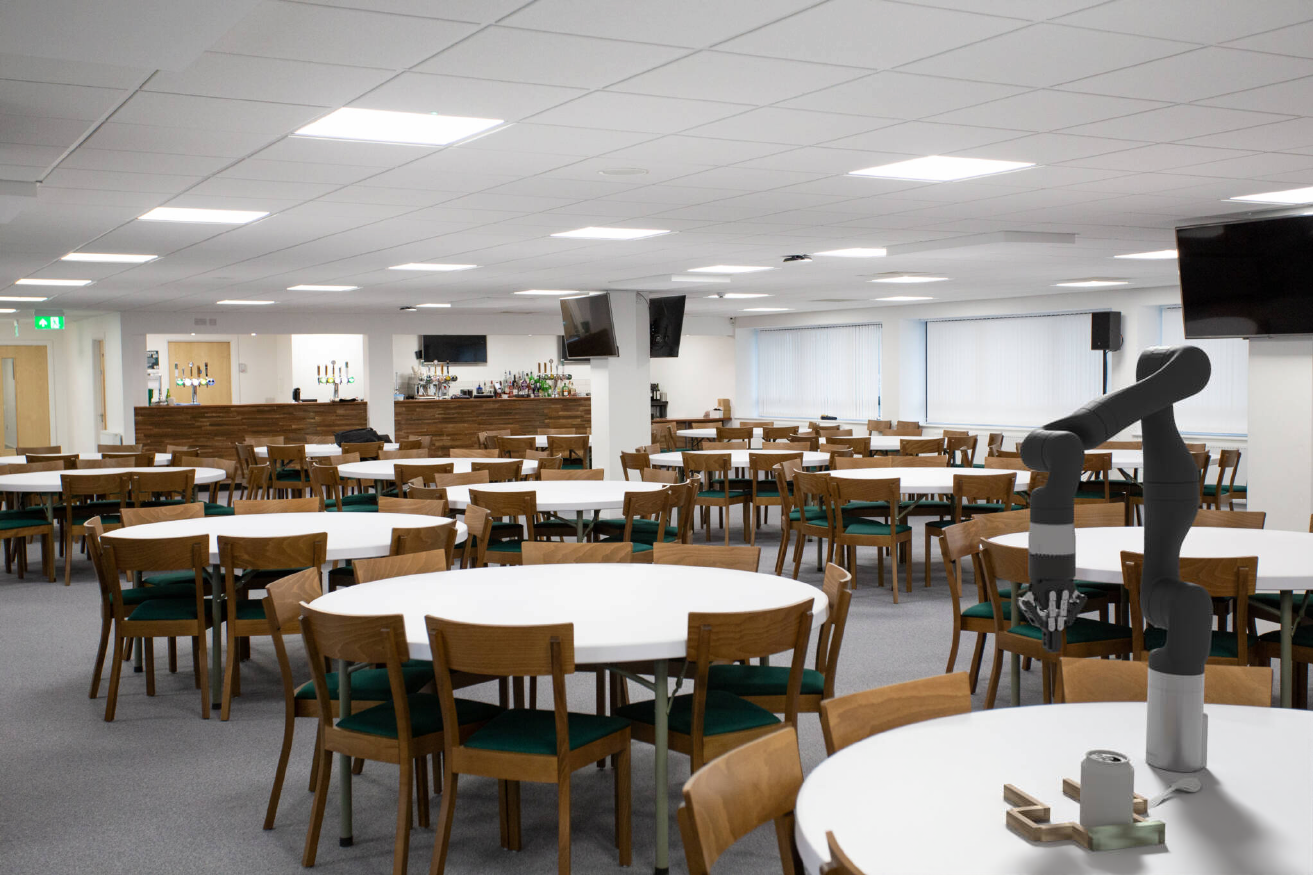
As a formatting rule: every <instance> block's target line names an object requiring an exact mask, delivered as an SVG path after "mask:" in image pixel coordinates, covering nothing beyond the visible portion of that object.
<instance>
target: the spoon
mask: <svg viewBox="0 0 1313 875" xmlns="http://www.w3.org/2000/svg"><path fill="white" fill-rule="evenodd" d="M1201 786H1202V784H1201V782H1200V780H1199V779H1198V778H1196V777H1188V778H1187V777H1186V778H1183V779H1180V780H1177V781H1176V782H1172V783H1171V784H1170V788H1168V789H1166V790H1165V791H1163V792H1162V793H1160V794H1159V795H1157V796H1154V797H1152V798H1151V799H1148V810H1149V809H1153V808H1154V809H1155V807H1157V806H1158V805H1159V804H1160V803H1161V802H1163V800H1164V799H1165V798H1166V797H1167V796H1168V795H1170V794H1171V793H1172V792H1174V791H1175V790H1178V791H1180V792H1185V793H1195V792H1198V791H1199V790H1200V788H1201Z"/></svg>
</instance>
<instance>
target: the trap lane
mask: <svg viewBox="0 0 1313 875" xmlns="http://www.w3.org/2000/svg"><path fill="white" fill-rule="evenodd" d="M1061 790H1062V792H1064V793H1066V794H1068V795H1069V796H1072V797H1073V798H1075V799H1077V800H1079V801H1080V782H1077V781H1075V780H1073V779H1071V778H1069V777H1068V778H1062V789H1061ZM1003 797H1004V798H1006V799H1007V800H1009V801H1011V802H1012V803H1014V805H1015V804H1016V805H1017V806H1018V807H1011V808H1010V809H1007V810H1006V814H1005V815H1006V816H1005V820H1006V821H1005V824H1006V825H1008V826H1010V827H1011V828H1013V829H1014V830H1016V831H1018V832H1019V833H1021V835H1024V836H1025V837H1026V838H1028V839H1029V840H1031V841H1033V842H1036V841H1041V842H1042V843H1046V842H1055V841H1063V840H1064V841H1066V840H1073V841H1075V842H1077V843H1078V844H1080V845H1082V846H1083V847H1085V848H1087V849H1089V850H1090V851H1091V852H1100V851H1108V850H1117V849H1118V850H1119V849H1127V848H1134V847H1135V848H1136V847H1144V846H1152V845H1161V844H1165V843H1166V822H1164V821H1162V820H1159V819H1158V820H1151V821H1150V820H1148V819H1146V818H1144V817H1142V816H1140V815H1144V814H1145V813H1147V812H1148V810H1149V809H1148V801H1149V799H1148V798H1146V797H1144V796H1142V795H1140V794H1139V793H1136V792H1134V802H1133V823H1130V824H1120V825H1111V826H1102V827H1092V828H1088V830H1087V829H1086V828H1084V827H1082V826H1081V825H1080V823H1077V822H1076V821H1070V822H1060V823H1050V821H1051V806H1049V805H1047V804H1045V803H1043V802H1042V801H1040V800H1039V799H1037V798H1035V797H1033V796H1032V795H1030V794H1029V793H1026V792H1025V791H1023V790H1022V789H1020V788H1018V787H1017V786H1015V785H1013V784H1012V783H1003Z"/></svg>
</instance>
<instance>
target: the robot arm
mask: <svg viewBox="0 0 1313 875" xmlns="http://www.w3.org/2000/svg"><path fill="white" fill-rule="evenodd" d="M1211 375H1212V364H1211V360H1210V358H1209V356H1208V354H1207V353H1206V352H1205V350H1203V349H1202V348H1200V347H1199V346H1195V345H1189V344H1188V345H1186V344H1179V345H1178V344H1177V345H1175V344H1173V345H1172V344H1171V345H1157V346H1150V347H1148V348H1146V349H1144V350H1143V351H1142V352H1141V354H1140V355H1139V357H1138V360H1137V361H1136V369H1135V383H1132V384H1128V385H1127V386H1123V387H1121V388H1118V389H1115V390H1112V391H1109V392H1107V393H1105V394H1103V395H1099V396H1098V397H1096V398H1094V399H1093V400H1091V401H1089V402H1088V403H1086V404H1085V405H1083V406H1081V407H1080V408H1078V409H1076V411H1074V412H1072V413H1071V414H1069V415H1067V416H1064V417H1062V418H1061V417H1060V418H1059V419H1055V420H1054V421H1053V420H1052V421H1050V422H1048V423H1046V424H1043V425H1041V426H1039V427H1038V428H1036V429H1035V428H1034V430H1032V431H1031V432H1030V433H1028V434H1027V435H1026V437H1024V439H1023V440H1022V443H1021V445H1020V448H1019V454H1020V455H1019V457H1020V459H1021V462H1022V464H1024V466H1025V467H1026V468H1028V469H1030V470H1032V471H1035V472H1039V473H1040V472H1041V473H1048V477H1047V479H1046V482H1045V484H1044V486H1039V487H1035V488H1034V489H1033V490H1032V491H1031V492H1030V497H1029V529H1028V537H1027V538H1028V544H1027V545H1028V547H1027V548H1028V549H1027V552H1028V554H1027V555H1028V556H1027V557H1028V559H1027V560H1028V561H1027V562H1028V565H1027V566H1028V568H1027V569H1028V571H1027V573H1028V577H1029V584H1028V587H1027V592H1026V593H1025V595H1023V596H1022V597H1017V598H1016V600H1015V603H1016V605H1017V606H1018V608H1020V610H1021V612H1022V613H1023V615H1024V616H1025V617H1026V619H1027V620H1028V621H1029V623H1030V624H1031V625H1032V626H1035V627H1038V628H1040V629H1041V642H1042V643H1041V646H1042V648H1043V649H1044V651H1045V652H1048V653H1050V654H1053V653H1059V652H1060V650H1061V648H1062V646H1063V643H1062V641H1063V640H1062V639H1063V637H1062V636H1063V634H1062V633H1063V632H1062V631H1063V629H1064V628H1066V627H1067V626H1070V627H1071V626H1072V625H1073V623H1074V622H1075V620H1076V619H1077V618H1078V616H1079V614H1080V613H1081V611H1082V610H1083V608H1084V606H1085V604H1086V603H1087V602H1088V596H1087V595H1085V594H1081V593H1080V592H1079V591H1078V590H1077V586H1076V584H1075V581H1074V578H1076V575H1077V572H1076V569H1077V568H1076V564H1077V563H1076V561H1077V560H1076V559H1077V556H1076V555H1077V551H1076V550H1077V546H1076V545H1077V540H1076V539H1077V537H1076V530H1075V497H1076V494H1077V491H1078V489H1079V488H1078V487H1079V483H1080V480H1081V477H1082V473H1083V470H1084V465H1085V461H1086V460H1085V459H1086V455H1085V454H1086V452H1085V451H1090V450H1094V449H1096V448H1097V447H1100V446H1102V445H1104V443H1106V442H1107V441H1109V440H1110V439H1112V438H1114V437H1115V436H1116V435H1118V434H1119V433H1121V432H1122V431H1124V430H1125V429H1127V428H1128V427H1130V426H1131V425H1134V424H1135V423H1137V422H1139V421H1140V425H1141V426H1140V427H1141V428H1140V429H1141V445H1142V500H1143V501H1142V502H1143V525H1144V526H1143V558H1142V567H1141V568H1142V570H1141V578H1140V579H1141V580H1140V593H1139V594H1140V595H1139V603H1140V604H1139V605H1140V609H1141V610H1140V611H1141V613H1142V616H1143V618H1144V619H1145V620H1146V621H1147V623H1149V624H1150V625H1152V626H1153V627H1156V628H1159V629H1162V630H1166V631H1167V633H1166V639H1165V640H1166V641H1165V645H1164V646H1163V647H1160V648H1159V647H1158V648H1155V649H1152V650H1150V651H1149V653H1148V658H1147V659H1148V660H1147V664H1148V665H1147V666H1148V667H1147V699H1146V733H1145V734H1146V735H1145V736H1146V738H1145V739H1146V740H1145V761H1146V762H1147V763H1148V764H1149V765H1151V766H1153V767H1156V768H1158V769H1162V770H1166V771H1172V772H1183V773H1187V772H1188V773H1189V772H1196V771H1199V770H1202V768H1206V767H1208V765H1207V764H1208V740H1209V739H1208V736H1209V735H1208V732H1209V731H1208V730H1209V715H1208V714H1207V713H1206V712H1205V711H1204V710H1205V707H1204V704H1205V701H1204V700H1205V675H1206V674H1205V669H1206V668H1205V667H1206V663H1207V661H1208V658H1209V656H1210V653H1211V646H1212V634H1213V633H1212V632H1213V623H1214V622H1213V621H1214V605H1213V601H1212V597H1211V594H1209V591H1208V590H1207V589H1206V588H1205V587H1203V585H1200V584H1196V583H1194V582H1188V581H1185V580H1184V581H1183V580H1181V576H1180V555H1181V549H1182V545H1183V543H1184V541H1185V538H1186V536H1187V535H1188V533H1189V531H1190V529H1191V528H1192V526H1193V524H1194V522H1195V520H1196V518H1197V515H1198V512H1199V509H1200V472H1199V468H1198V465H1197V463H1196V461H1195V458H1194V457H1193V455H1192V452H1191V451H1190V450H1189V448H1188V446H1187V444H1186V443H1185V441H1184V440H1183V438H1182V436H1181V433H1180V432H1179V429H1178V428H1177V424H1176V419H1175V412H1174V404H1176V403H1178V402H1180V401H1183V400H1185V399H1188V398H1190V397H1193V396H1195V395H1197V394H1200V393H1201V392H1202V391H1203V390H1204V389H1205V388H1206V386H1207V385H1208V383H1209V381H1210V378H1211ZM1035 606H1036V607H1035Z"/></svg>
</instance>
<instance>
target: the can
mask: <svg viewBox="0 0 1313 875" xmlns="http://www.w3.org/2000/svg"><path fill="white" fill-rule="evenodd" d="M1130 761H1131V759H1130V756H1128V755H1126V754H1125V753H1122V752H1119V751H1115V750H1109V749H1091V750H1088V751H1086V752H1085V757H1084V759H1082V760H1081V762H1080V782H1079V784H1080V800H1079V825H1081V826H1082V827H1084V828H1086V829H1087V830H1088V828H1092V827H1102V826H1111V825H1120V824H1130V823H1133V802H1134V793H1135V768H1134V766H1133V765H1132V763H1130Z"/></svg>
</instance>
